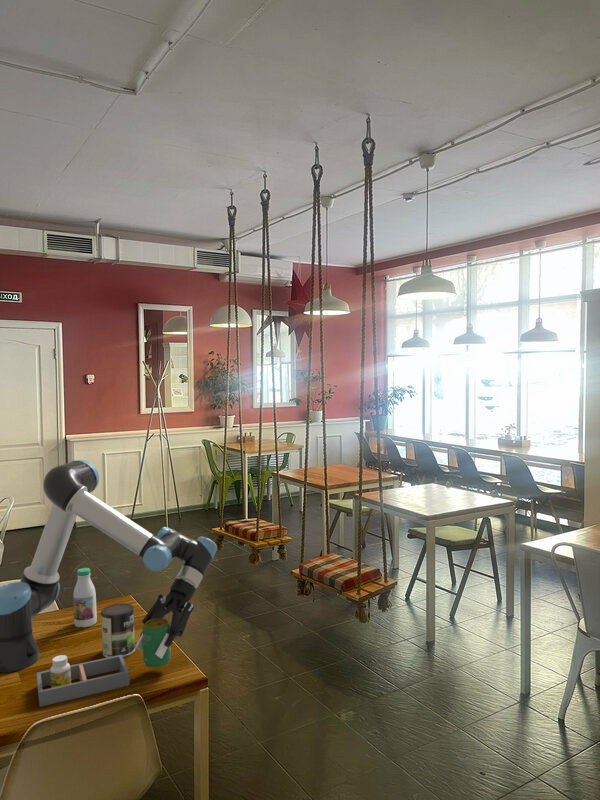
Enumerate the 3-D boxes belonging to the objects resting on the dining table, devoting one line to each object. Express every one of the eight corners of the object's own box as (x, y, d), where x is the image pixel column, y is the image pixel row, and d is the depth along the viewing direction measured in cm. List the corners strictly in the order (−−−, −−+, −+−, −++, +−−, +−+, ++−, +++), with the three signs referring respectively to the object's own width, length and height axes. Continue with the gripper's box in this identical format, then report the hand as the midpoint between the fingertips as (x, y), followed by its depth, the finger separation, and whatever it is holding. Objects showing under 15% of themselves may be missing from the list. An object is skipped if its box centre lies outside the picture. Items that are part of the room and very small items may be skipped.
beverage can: (173, 664, 183) (173, 625, 182) (147, 670, 179) (146, 630, 179) (166, 653, 190) (165, 615, 189) (140, 659, 186) (139, 620, 186)
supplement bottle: (75, 688, 176) (74, 655, 176) (61, 697, 171) (60, 663, 171) (60, 685, 178) (59, 652, 178) (46, 694, 173) (45, 660, 173)
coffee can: (140, 645, 203) (139, 603, 202) (126, 659, 193) (124, 616, 192) (112, 643, 205) (110, 602, 205) (96, 657, 195) (94, 614, 194)
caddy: (37, 686, 178) (36, 672, 177) (122, 667, 188) (121, 654, 188) (39, 706, 166) (39, 692, 166) (129, 685, 177) (129, 672, 177)
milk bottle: (80, 619, 226) (78, 565, 226) (100, 619, 225) (98, 566, 225) (70, 627, 219) (68, 572, 218) (90, 628, 218) (88, 573, 217)
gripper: (216, 595, 191) (179, 667, 178) (169, 583, 202) (131, 649, 190) (204, 583, 186) (166, 656, 173) (156, 571, 198) (117, 638, 185)
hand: (148, 652), depth 182 cm, fingers closed on beverage can, 8 cm apart
